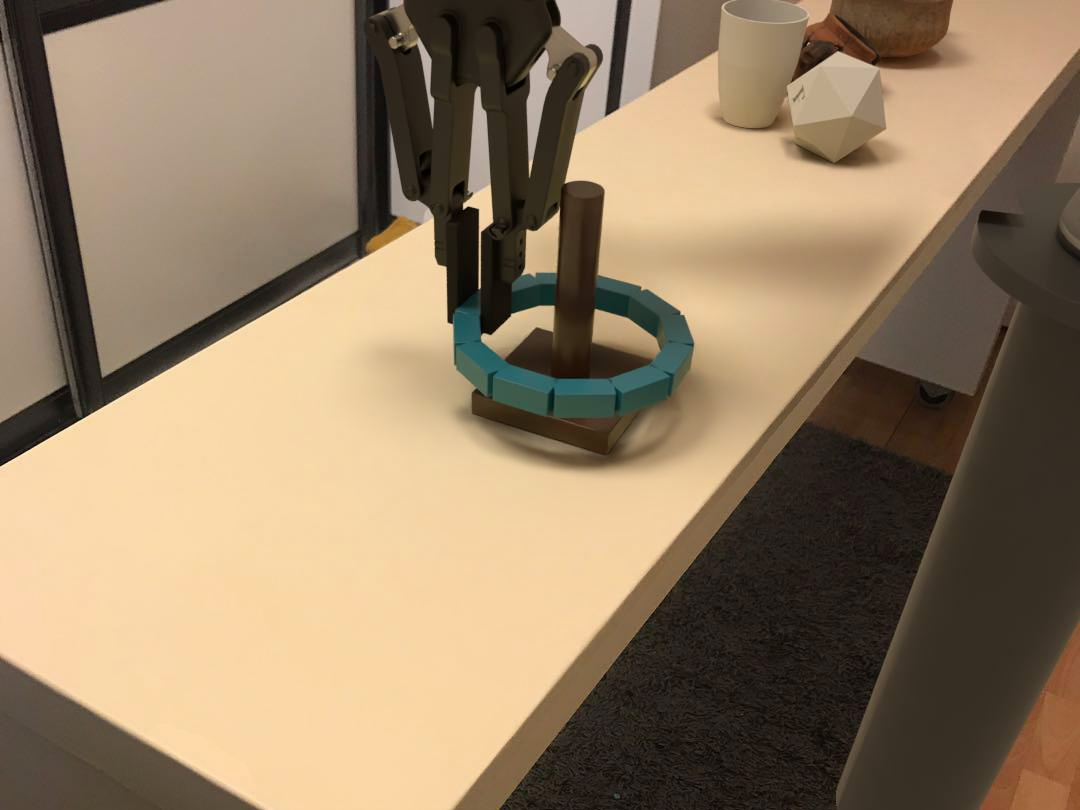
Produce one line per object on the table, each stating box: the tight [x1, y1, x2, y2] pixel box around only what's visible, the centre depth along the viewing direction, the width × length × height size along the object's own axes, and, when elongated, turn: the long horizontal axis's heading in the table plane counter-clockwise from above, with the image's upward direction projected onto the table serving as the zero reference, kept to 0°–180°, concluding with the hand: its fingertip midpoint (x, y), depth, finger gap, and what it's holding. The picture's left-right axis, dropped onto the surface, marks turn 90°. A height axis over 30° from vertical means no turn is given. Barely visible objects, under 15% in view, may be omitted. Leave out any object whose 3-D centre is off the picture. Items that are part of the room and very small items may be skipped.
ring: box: [452, 271, 695, 418], centre depth 64 cm, size 14×14×2 cm
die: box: [787, 51, 887, 164], centre depth 98 cm, size 8×9×10 cm
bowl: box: [828, 0, 954, 58], centre depth 123 cm, size 18×14×10 cm
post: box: [471, 180, 654, 456], centre depth 62 cm, size 9×9×14 cm
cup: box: [717, 0, 810, 129], centre depth 102 cm, size 8×8×10 cm
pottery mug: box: [787, 12, 883, 95], centre depth 111 cm, size 12×10×8 cm
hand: (479, 318), depth 66 cm, fingers closed on ring, 2 cm apart
